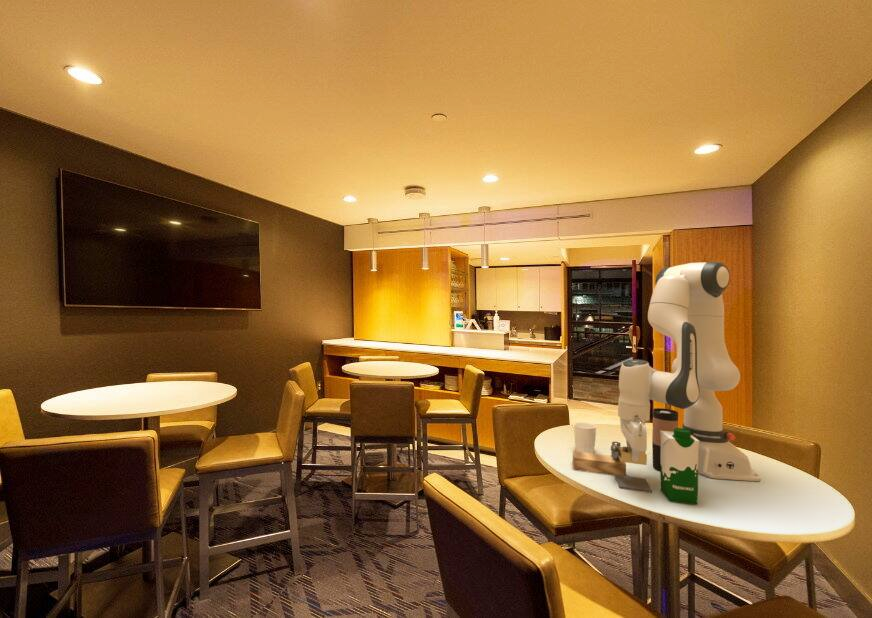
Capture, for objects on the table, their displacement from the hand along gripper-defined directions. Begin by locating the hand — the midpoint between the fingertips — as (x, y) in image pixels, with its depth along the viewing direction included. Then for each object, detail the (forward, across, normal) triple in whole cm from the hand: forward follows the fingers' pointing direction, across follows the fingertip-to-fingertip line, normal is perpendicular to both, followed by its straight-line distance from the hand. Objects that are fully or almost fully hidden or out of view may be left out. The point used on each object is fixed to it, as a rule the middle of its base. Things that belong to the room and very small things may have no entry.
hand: (632, 457), depth 118 cm
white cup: (+9, +26, +12) cm, 30 cm away
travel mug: (+8, +17, -13) cm, 23 cm away
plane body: (+9, +9, +9) cm, 15 cm away
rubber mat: (+8, 0, 0) cm, 9 cm away
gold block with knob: (+1, 0, 0) cm, 1 cm away
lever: (+2, +6, +4) cm, 7 cm away
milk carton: (+8, -5, -11) cm, 15 cm away
